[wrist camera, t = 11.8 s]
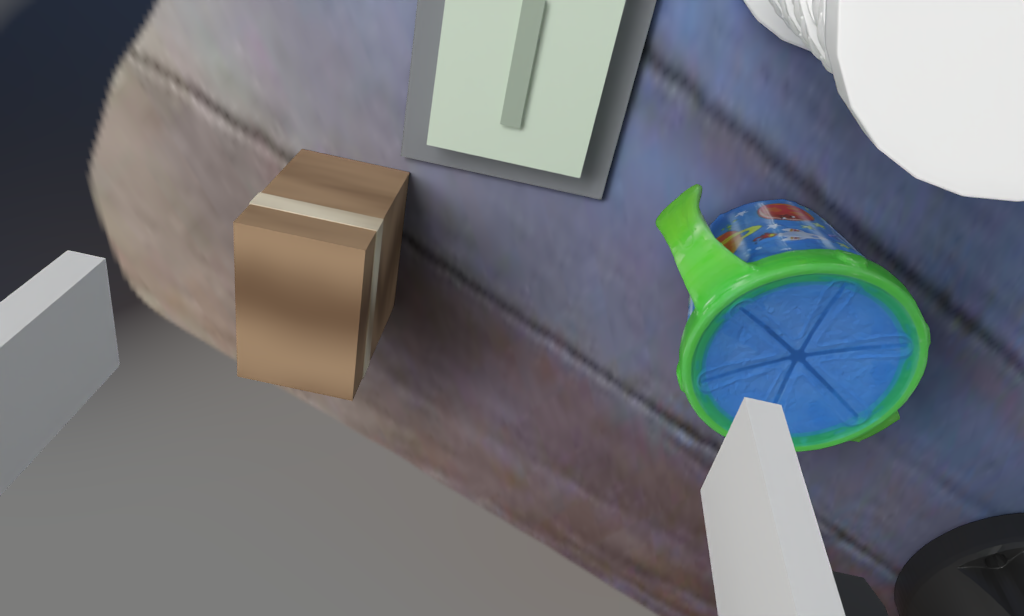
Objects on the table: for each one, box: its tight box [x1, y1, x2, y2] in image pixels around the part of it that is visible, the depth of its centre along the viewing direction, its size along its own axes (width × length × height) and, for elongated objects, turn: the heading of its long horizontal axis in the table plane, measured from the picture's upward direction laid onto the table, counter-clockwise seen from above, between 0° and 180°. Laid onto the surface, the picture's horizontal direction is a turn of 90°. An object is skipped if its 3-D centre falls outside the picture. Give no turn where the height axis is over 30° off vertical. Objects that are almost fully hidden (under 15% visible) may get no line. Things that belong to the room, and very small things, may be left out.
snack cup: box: [656, 184, 931, 452], centre depth 37 cm, size 16×10×10 cm
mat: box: [401, 0, 656, 200], centre depth 37 cm, size 13×11×1 cm
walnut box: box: [233, 149, 409, 401], centre depth 39 cm, size 9×6×9 cm
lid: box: [427, 0, 626, 178], centre depth 36 cm, size 10×8×2 cm
